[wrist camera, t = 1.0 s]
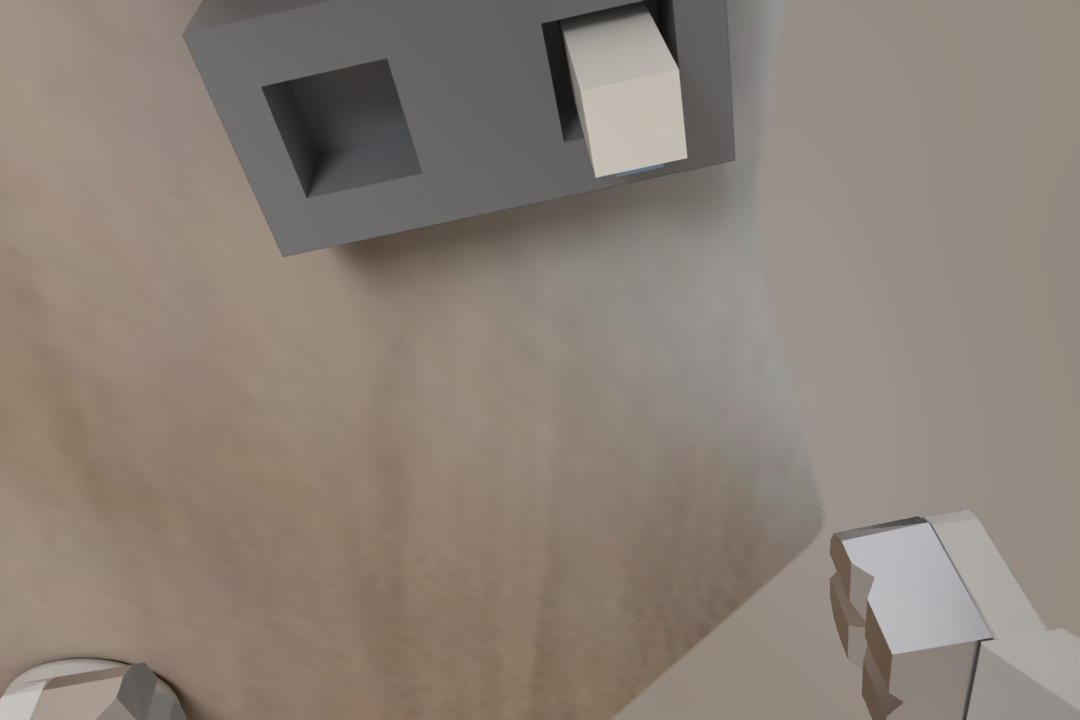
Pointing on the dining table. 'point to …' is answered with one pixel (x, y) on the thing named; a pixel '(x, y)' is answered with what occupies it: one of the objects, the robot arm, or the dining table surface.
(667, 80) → the plug
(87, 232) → the dining table surface
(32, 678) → the cylinder vase
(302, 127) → the socket block
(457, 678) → the dining table surface
